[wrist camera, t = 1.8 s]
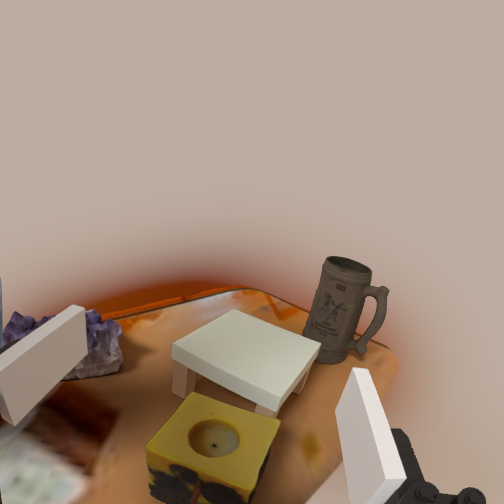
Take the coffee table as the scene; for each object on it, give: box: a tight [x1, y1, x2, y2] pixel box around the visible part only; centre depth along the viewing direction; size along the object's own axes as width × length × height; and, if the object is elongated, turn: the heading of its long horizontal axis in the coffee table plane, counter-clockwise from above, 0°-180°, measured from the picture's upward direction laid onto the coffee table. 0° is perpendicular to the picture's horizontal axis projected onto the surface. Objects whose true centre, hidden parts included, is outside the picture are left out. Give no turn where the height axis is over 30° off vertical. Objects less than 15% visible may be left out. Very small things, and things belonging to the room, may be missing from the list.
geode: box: [2, 309, 123, 380], centre depth 40 cm, size 20×12×10 cm, turn 131°
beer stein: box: [302, 256, 389, 364], centre depth 59 cm, size 15×10×20 cm
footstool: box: [171, 309, 321, 419], centre depth 45 cm, size 16×16×9 cm
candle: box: [146, 391, 281, 504], centre depth 27 cm, size 10×10×10 cm
